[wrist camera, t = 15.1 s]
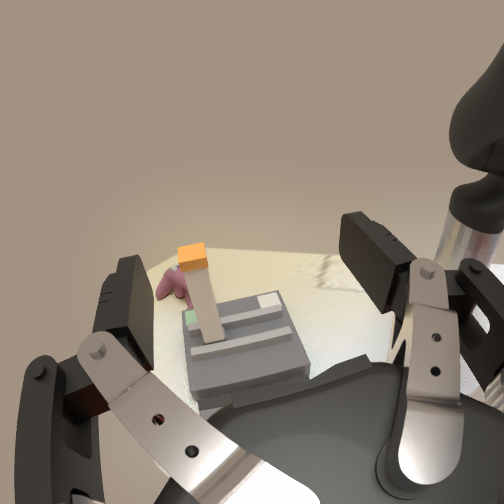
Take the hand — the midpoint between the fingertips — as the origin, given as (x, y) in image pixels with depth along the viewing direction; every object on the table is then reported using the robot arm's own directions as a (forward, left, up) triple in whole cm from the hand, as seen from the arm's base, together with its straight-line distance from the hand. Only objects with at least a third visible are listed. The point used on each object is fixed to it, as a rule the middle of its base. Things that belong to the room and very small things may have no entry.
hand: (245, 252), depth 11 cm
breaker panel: (0, -16, -28) cm, 32 cm away
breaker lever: (+3, -16, -25) cm, 30 cm away
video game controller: (+7, -28, -28) cm, 41 cm away
